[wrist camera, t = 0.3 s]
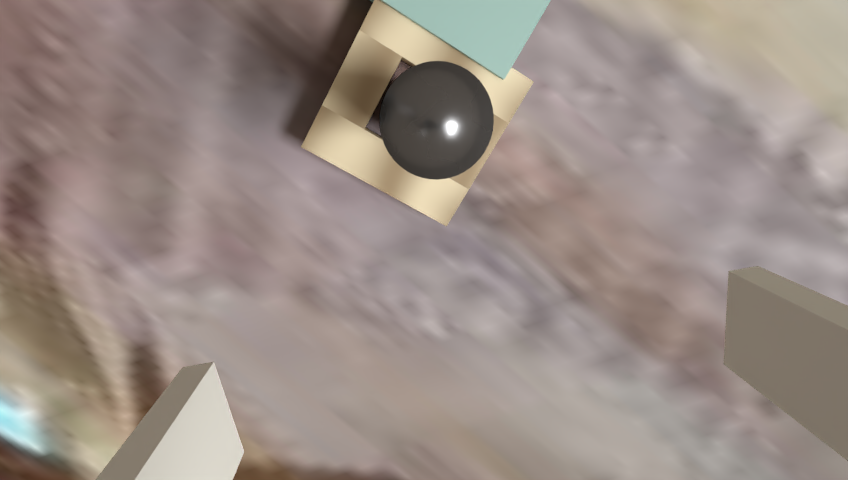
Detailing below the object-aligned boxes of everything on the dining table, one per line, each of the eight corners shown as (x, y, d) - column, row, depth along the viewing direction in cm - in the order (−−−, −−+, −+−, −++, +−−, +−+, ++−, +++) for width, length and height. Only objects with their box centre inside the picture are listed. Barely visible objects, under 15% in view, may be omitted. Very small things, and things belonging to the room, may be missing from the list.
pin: (370, 126, 34) (358, 144, 20) (402, 65, 33) (415, 36, 19) (426, 158, 35) (456, 199, 21) (460, 100, 34) (515, 100, 20)
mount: (306, 143, 34) (301, 146, 32) (383, -9, 32) (383, -18, 29) (442, 218, 37) (446, 226, 34) (523, 83, 34) (533, 81, 32)
